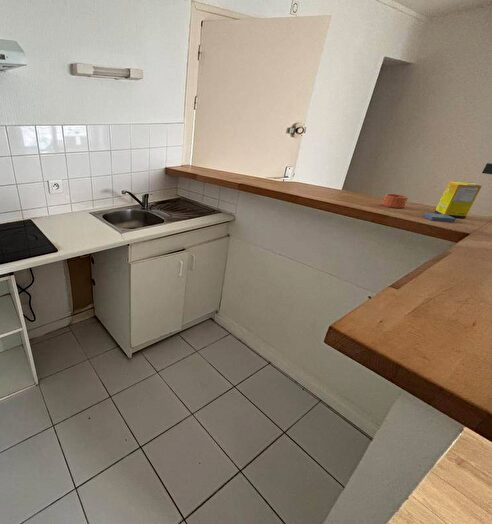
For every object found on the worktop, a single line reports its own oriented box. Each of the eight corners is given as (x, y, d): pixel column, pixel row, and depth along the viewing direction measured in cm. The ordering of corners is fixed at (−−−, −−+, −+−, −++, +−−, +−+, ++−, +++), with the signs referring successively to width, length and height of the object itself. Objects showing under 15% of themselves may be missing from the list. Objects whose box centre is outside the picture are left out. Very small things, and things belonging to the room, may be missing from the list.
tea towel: (445, 218, 94) (447, 214, 93) (454, 222, 90) (456, 218, 89) (423, 216, 96) (424, 212, 95) (430, 220, 92) (432, 216, 91)
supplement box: (454, 213, 98) (471, 182, 94) (465, 218, 93) (483, 185, 89) (433, 212, 100) (448, 180, 95) (442, 216, 95) (459, 183, 90)
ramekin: (399, 205, 109) (403, 194, 107) (407, 209, 103) (411, 198, 102) (379, 203, 111) (382, 193, 109) (385, 207, 105) (389, 197, 104)
